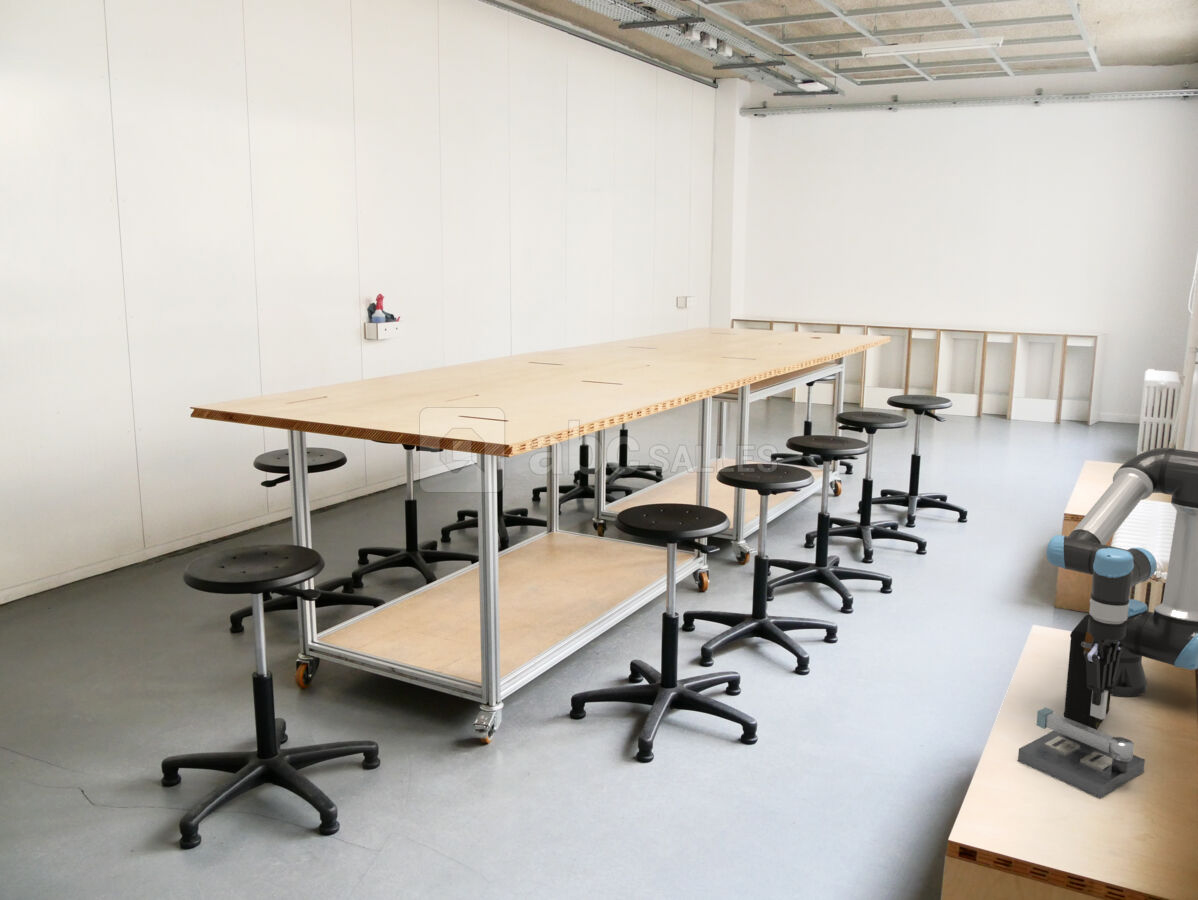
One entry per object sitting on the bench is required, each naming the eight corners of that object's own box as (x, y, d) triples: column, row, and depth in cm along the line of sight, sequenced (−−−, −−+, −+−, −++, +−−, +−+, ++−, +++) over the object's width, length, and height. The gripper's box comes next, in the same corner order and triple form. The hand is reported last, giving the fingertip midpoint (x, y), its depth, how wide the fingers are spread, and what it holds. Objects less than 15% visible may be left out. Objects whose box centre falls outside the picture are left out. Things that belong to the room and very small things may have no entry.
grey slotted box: (1061, 737, 227) (1063, 714, 226) (1145, 772, 211) (1148, 747, 210) (1017, 760, 217) (1019, 736, 216) (1102, 799, 201) (1105, 773, 200)
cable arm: (1045, 720, 222) (1046, 706, 222) (1136, 757, 206) (1137, 742, 205) (1034, 726, 220) (1036, 711, 219) (1125, 764, 203) (1127, 748, 202)
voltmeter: (1098, 736, 227) (1108, 637, 222) (1059, 725, 233) (1068, 629, 228) (1113, 711, 239) (1123, 617, 234) (1076, 702, 245) (1084, 610, 240)
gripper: (1106, 607, 219) (1096, 702, 223) (1075, 619, 211) (1065, 717, 216) (1139, 617, 212) (1129, 715, 217) (1109, 629, 205) (1098, 730, 210)
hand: (1097, 716), depth 216 cm, fingers closed
